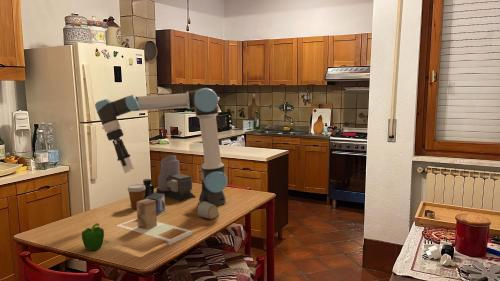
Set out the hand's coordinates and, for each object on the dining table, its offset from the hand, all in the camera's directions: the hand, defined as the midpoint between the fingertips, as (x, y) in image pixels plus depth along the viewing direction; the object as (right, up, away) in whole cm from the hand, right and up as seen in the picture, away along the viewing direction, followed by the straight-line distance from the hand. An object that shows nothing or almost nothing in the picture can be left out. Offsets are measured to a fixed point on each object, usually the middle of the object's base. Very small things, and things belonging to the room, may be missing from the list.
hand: (129, 171), depth 187 cm
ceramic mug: (+39, -24, +5) cm, 46 cm away
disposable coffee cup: (-2, -22, +21) cm, 31 cm away
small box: (+11, -24, +8) cm, 27 cm away
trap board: (+16, -26, -15) cm, 34 cm away
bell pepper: (-4, -29, -33) cm, 44 cm away
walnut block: (+12, -25, -13) cm, 30 cm away
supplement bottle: (-1, -20, +36) cm, 42 cm away
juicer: (+13, -19, +47) cm, 52 cm away
